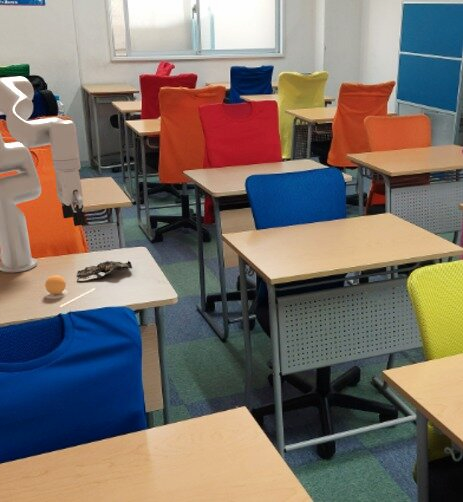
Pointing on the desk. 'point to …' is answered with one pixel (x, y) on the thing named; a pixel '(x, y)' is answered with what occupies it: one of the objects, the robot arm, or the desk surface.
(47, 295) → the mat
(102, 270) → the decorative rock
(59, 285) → the ball
